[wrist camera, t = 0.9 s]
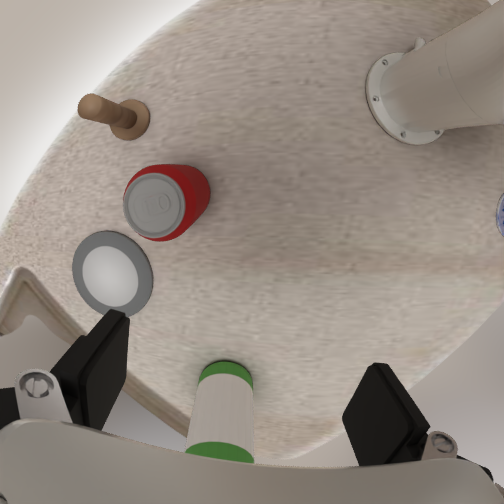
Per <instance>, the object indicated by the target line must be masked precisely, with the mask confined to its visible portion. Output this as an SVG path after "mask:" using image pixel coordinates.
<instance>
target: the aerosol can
mask: <svg viewBox="0 0 504 504" xmlns="http://www.w3.org/2000/svg"><path fill="white" fill-rule="evenodd" d="M496 223H497V228H498V230H499V232H500V233H501V234H502V235H503V236H504V193H503V195H502V196H501V198H500V199H499V202H498V205H497V210H496Z"/></svg>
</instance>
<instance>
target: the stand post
mask: <svg viewBox="0 0 504 504" xmlns="http://www.w3.org/2000/svg"><path fill="white" fill-rule="evenodd" d="M78 114H79V115H80V117H82V118H84V119H88V120H92V121H96V122H100V123H104V124H108V125H110V128H111V131H112V132H113V134H114V135H115V136H116V137H118V138H120V139H123V140H134V139H137V138H138V137H140V136H141V135H143V134H144V132H145V131H146V130H147V128H148V126H149V122H150V113H149V110H148V108H147V107H146V106H145V105H144V104H143V103H141V102H139V101H137V100H126V101H123V102H121V103H120V104H117V103H114V102H112V101H110V100H107V99H105V98H103V97H100V96H98V95H95V94H87V95H85V96H84V97H83V98H82V99H81V100H80V102H79V104H78Z"/></svg>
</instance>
